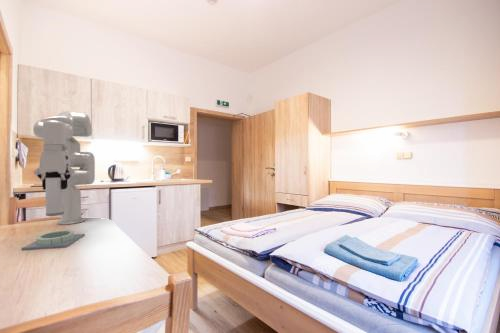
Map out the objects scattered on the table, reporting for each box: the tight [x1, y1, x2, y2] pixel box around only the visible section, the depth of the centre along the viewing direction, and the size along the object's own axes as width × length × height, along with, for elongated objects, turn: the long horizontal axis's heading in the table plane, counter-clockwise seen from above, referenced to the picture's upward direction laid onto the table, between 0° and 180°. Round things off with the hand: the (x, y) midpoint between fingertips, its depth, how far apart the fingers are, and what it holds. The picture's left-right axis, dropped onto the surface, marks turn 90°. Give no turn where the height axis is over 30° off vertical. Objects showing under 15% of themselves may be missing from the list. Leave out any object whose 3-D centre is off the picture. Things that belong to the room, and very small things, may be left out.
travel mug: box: [45, 172, 64, 217], centre depth 105 cm, size 6×7×20 cm
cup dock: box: [21, 229, 86, 251], centre depth 106 cm, size 16×16×4 cm
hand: (55, 188), depth 105 cm, fingers closed on travel mug, 6 cm apart
